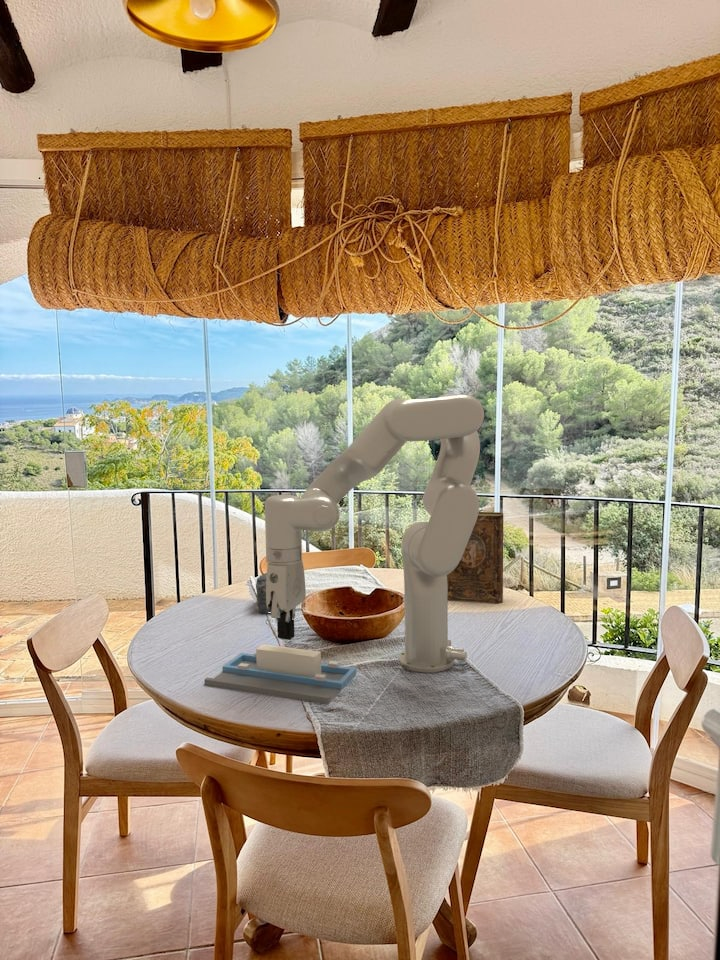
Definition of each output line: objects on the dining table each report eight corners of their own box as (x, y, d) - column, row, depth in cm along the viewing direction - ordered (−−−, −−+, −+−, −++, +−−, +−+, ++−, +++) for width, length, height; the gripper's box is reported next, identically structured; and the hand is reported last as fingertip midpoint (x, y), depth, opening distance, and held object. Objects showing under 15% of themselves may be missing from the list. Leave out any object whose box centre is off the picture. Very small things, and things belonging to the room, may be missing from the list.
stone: (284, 614, 192) (283, 578, 191) (256, 615, 191) (254, 580, 190) (284, 600, 204) (283, 566, 203) (257, 601, 204) (256, 567, 202)
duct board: (356, 676, 150) (356, 664, 150) (328, 708, 136) (328, 694, 136) (242, 660, 160) (241, 649, 160) (204, 688, 146) (204, 675, 145)
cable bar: (321, 674, 150) (320, 651, 149) (315, 679, 147) (314, 657, 146) (263, 665, 155) (262, 644, 154) (256, 671, 152) (255, 649, 151)
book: (503, 598, 201) (504, 512, 198) (501, 604, 196) (502, 516, 193) (446, 594, 206) (446, 510, 202) (443, 600, 201) (443, 514, 197)
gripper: (283, 564, 139) (286, 652, 142) (315, 547, 153) (316, 628, 155) (250, 561, 142) (253, 648, 144) (284, 545, 156) (286, 624, 158)
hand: (286, 637), depth 150 cm, fingers closed
